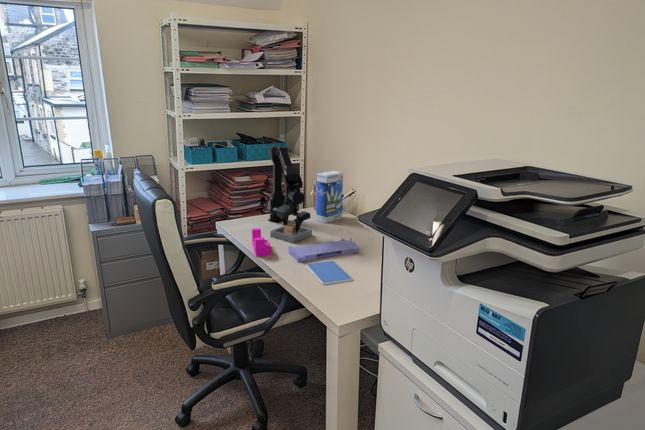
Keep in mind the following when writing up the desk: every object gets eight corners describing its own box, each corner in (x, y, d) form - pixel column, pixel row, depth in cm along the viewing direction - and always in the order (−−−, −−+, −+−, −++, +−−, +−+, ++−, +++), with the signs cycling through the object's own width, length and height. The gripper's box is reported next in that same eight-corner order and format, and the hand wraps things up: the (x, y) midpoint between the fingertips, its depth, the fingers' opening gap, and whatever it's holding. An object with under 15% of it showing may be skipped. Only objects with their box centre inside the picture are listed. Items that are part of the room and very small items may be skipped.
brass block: (290, 232, 210) (290, 223, 209) (298, 235, 208) (298, 225, 206) (283, 235, 206) (283, 225, 205) (291, 237, 204) (291, 227, 202)
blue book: (305, 266, 175) (305, 263, 174) (333, 262, 179) (333, 259, 179) (322, 286, 157) (322, 283, 157) (353, 282, 162) (353, 278, 162)
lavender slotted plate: (363, 254, 188) (346, 243, 201) (364, 245, 187) (347, 234, 200) (300, 264, 176) (286, 252, 188) (300, 255, 174) (286, 243, 187)
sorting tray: (289, 229, 216) (289, 223, 216) (311, 235, 209) (311, 229, 208) (270, 236, 206) (270, 230, 205) (293, 243, 198) (293, 237, 197)
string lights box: (325, 223, 228) (326, 175, 220) (315, 220, 233) (316, 173, 225) (341, 218, 237) (343, 172, 229) (331, 215, 242) (333, 170, 234)
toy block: (270, 255, 184) (270, 239, 181) (256, 256, 182) (255, 240, 180) (265, 243, 197) (265, 227, 195) (252, 244, 196) (251, 228, 194)
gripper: (264, 198, 201) (265, 230, 205) (296, 205, 190) (295, 239, 195) (280, 194, 209) (280, 224, 214) (311, 200, 199) (310, 232, 204)
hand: (291, 230), depth 206 cm, fingers open, 7 cm apart
